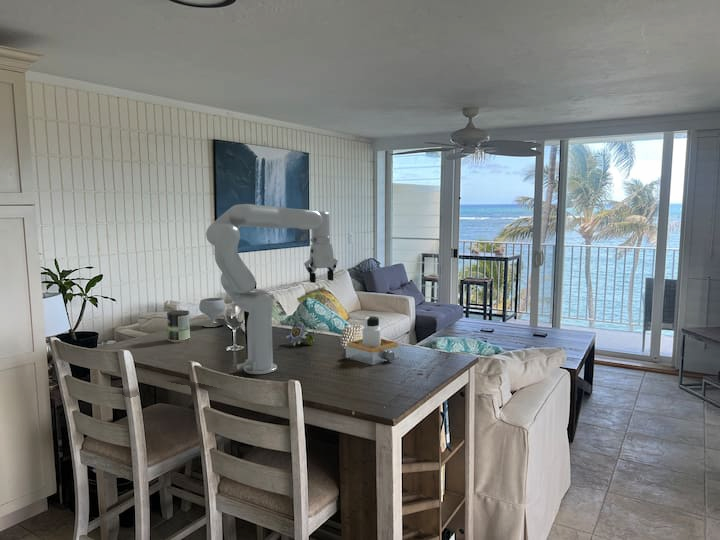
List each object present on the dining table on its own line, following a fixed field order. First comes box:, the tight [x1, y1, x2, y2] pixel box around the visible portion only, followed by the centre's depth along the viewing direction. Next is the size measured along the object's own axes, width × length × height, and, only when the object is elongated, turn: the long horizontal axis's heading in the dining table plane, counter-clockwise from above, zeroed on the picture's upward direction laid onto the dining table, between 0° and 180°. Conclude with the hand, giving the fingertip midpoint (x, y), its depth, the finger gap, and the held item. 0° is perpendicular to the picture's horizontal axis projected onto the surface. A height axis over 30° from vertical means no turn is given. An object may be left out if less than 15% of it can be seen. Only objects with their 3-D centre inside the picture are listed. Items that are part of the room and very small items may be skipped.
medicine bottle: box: [362, 316, 382, 347], centre depth 214 cm, size 7×7×12 cm
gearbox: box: [345, 338, 400, 366], centre depth 214 cm, size 16×19×6 cm
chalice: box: [198, 297, 226, 324], centre depth 282 cm, size 14×14×15 cm
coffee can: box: [166, 309, 191, 340], centre depth 249 cm, size 10×10×14 cm
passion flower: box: [285, 322, 316, 347], centre depth 239 cm, size 11×11×12 cm
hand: (321, 281), depth 215 cm, fingers open, 9 cm apart
